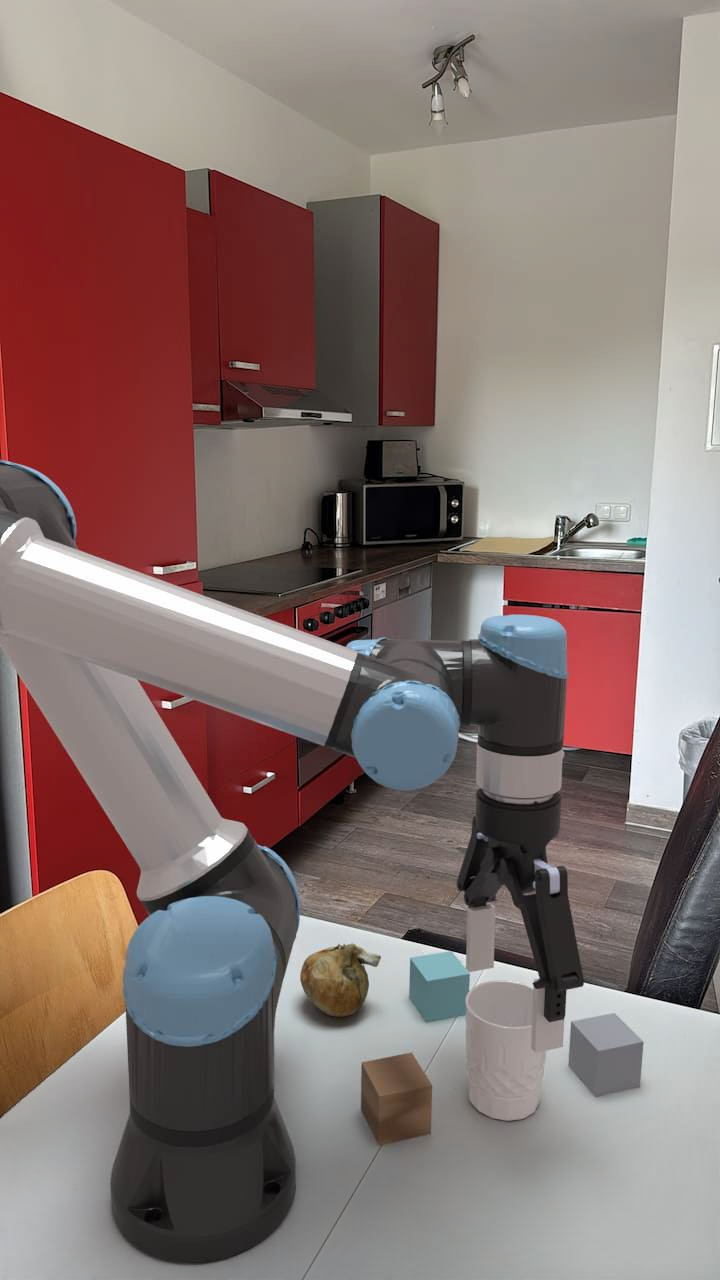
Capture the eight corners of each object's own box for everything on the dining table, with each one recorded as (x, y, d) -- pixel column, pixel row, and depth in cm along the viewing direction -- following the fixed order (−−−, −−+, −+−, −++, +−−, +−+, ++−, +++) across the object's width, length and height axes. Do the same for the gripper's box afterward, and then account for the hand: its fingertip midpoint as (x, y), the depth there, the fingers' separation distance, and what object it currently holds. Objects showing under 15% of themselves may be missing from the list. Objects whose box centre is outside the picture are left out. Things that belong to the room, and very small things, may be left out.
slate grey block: (595, 1097, 92) (598, 1051, 91) (568, 1066, 96) (571, 1021, 95) (639, 1087, 93) (643, 1041, 92) (611, 1057, 98) (614, 1012, 97)
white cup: (551, 1127, 87) (557, 1029, 85) (465, 1125, 88) (469, 1026, 86) (537, 1072, 95) (543, 980, 93) (458, 1070, 95) (462, 978, 93)
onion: (343, 980, 111) (344, 917, 109) (384, 1014, 105) (386, 947, 103) (287, 1001, 107) (287, 935, 105) (327, 1037, 100) (327, 968, 99)
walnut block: (378, 1146, 85) (379, 1096, 84) (360, 1110, 89) (361, 1062, 88) (430, 1134, 86) (432, 1085, 85) (410, 1099, 91) (411, 1052, 90)
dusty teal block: (425, 1023, 103) (427, 981, 102) (409, 998, 108) (410, 957, 107) (468, 1015, 105) (469, 973, 104) (449, 991, 109) (451, 951, 108)
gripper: (636, 837, 75) (621, 1078, 79) (494, 745, 98) (489, 935, 102) (551, 849, 72) (540, 1097, 77) (426, 752, 96) (423, 946, 100)
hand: (511, 1005), depth 89 cm, fingers open, 13 cm apart
